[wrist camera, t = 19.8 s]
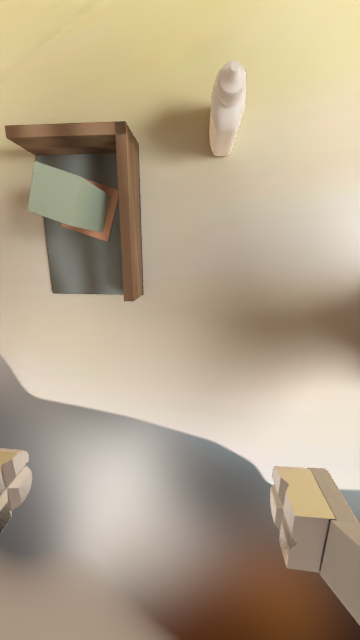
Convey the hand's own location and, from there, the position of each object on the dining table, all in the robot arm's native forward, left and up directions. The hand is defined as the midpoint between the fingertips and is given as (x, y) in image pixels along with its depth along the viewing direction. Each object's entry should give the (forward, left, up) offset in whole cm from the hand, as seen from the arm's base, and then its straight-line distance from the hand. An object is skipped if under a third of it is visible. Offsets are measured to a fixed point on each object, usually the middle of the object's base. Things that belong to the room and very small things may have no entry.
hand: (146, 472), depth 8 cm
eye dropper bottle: (-4, -22, -31) cm, 38 cm away
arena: (+14, -11, -31) cm, 36 cm away
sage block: (+14, -13, -30) cm, 36 cm away
